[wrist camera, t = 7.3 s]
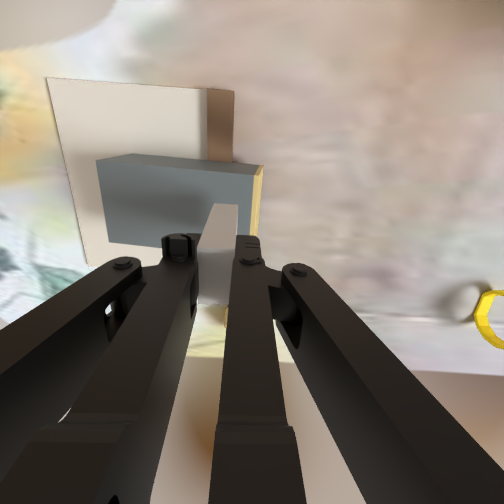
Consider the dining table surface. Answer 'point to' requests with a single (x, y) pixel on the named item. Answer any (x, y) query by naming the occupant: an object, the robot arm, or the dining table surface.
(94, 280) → the robot arm
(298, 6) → the dining table surface
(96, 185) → the mat
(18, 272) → the dining table surface
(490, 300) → the watch
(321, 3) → the dining table surface
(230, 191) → the tall block
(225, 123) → the bar
